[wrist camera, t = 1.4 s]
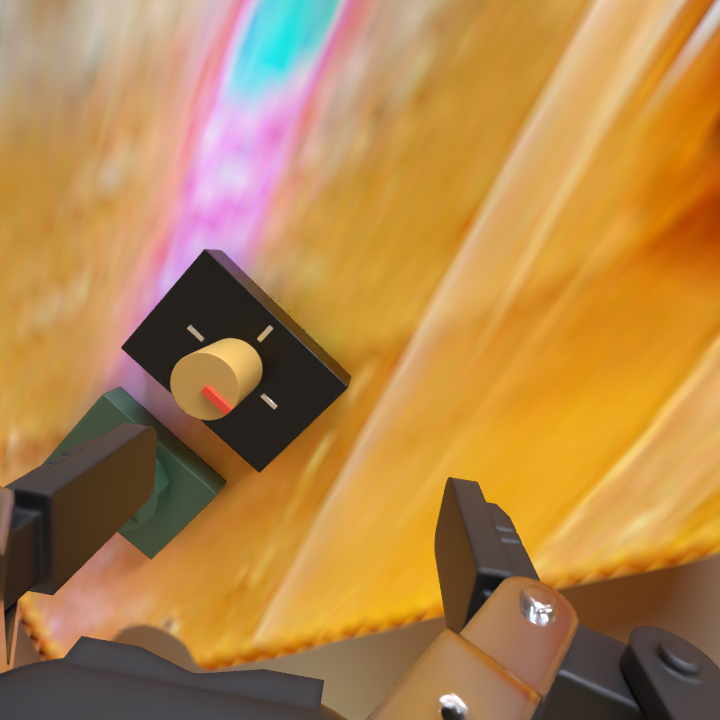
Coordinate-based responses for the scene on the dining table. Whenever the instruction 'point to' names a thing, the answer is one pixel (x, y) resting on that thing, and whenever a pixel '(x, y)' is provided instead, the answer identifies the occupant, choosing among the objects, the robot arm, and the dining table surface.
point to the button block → (172, 478)
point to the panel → (261, 331)
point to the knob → (216, 378)
